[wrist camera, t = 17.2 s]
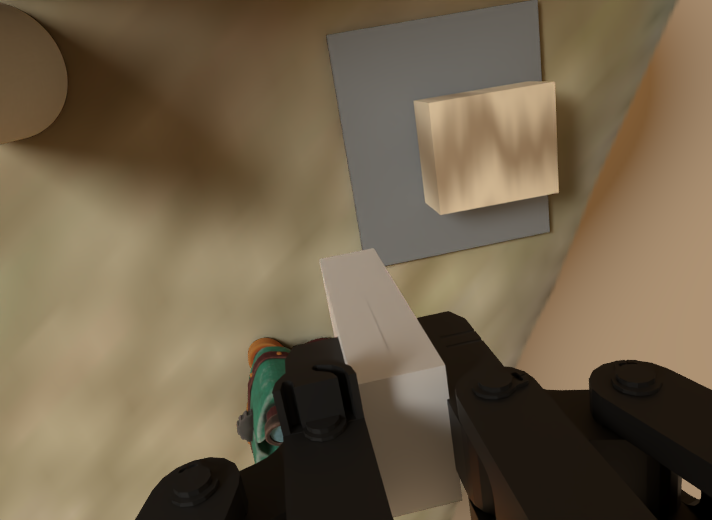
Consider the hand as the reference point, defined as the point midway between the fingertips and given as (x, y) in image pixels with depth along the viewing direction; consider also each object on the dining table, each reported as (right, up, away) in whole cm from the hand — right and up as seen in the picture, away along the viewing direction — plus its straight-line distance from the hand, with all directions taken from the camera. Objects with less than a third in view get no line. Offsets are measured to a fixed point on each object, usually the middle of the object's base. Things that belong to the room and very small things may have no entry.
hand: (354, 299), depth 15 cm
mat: (+6, +9, +24) cm, 26 cm away
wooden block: (+5, +8, +21) cm, 23 cm away
